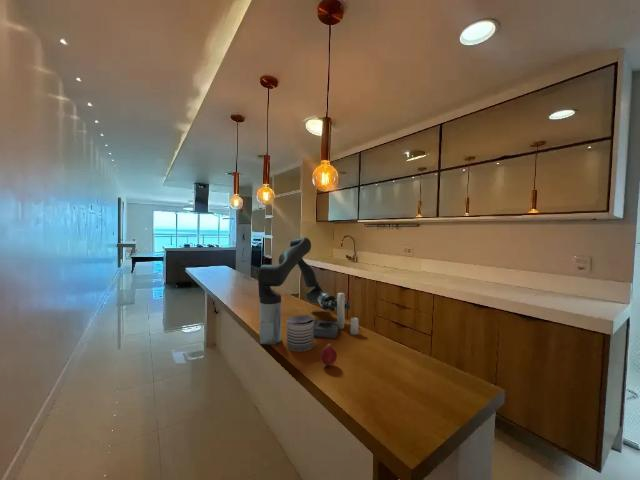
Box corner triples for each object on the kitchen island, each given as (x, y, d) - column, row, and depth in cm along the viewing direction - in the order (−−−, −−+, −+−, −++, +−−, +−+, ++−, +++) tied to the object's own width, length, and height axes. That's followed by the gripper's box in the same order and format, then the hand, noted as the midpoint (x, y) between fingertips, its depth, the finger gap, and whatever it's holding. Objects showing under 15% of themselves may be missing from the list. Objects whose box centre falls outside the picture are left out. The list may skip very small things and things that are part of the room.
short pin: (358, 335, 128) (358, 320, 128) (350, 334, 129) (350, 319, 129) (358, 332, 132) (358, 317, 132) (350, 331, 132) (350, 317, 132)
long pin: (344, 328, 136) (344, 294, 136) (336, 328, 137) (337, 294, 136) (344, 326, 140) (344, 292, 139) (337, 325, 140) (337, 292, 140)
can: (301, 354, 108) (301, 324, 108) (280, 346, 115) (280, 318, 115) (319, 344, 117) (319, 316, 117) (298, 338, 124) (299, 311, 124)
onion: (322, 370, 96) (323, 348, 95) (318, 363, 101) (318, 341, 101) (338, 368, 97) (339, 346, 97) (333, 361, 103) (333, 340, 102)
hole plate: (335, 337, 125) (335, 330, 125) (309, 336, 127) (309, 328, 127) (338, 328, 137) (338, 321, 136) (314, 326, 139) (314, 320, 138)
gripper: (315, 295, 149) (328, 302, 134) (338, 292, 155) (353, 299, 140) (315, 309, 149) (328, 317, 135) (338, 306, 155) (353, 314, 141)
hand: (341, 308), depth 138 cm, fingers open, 8 cm apart
